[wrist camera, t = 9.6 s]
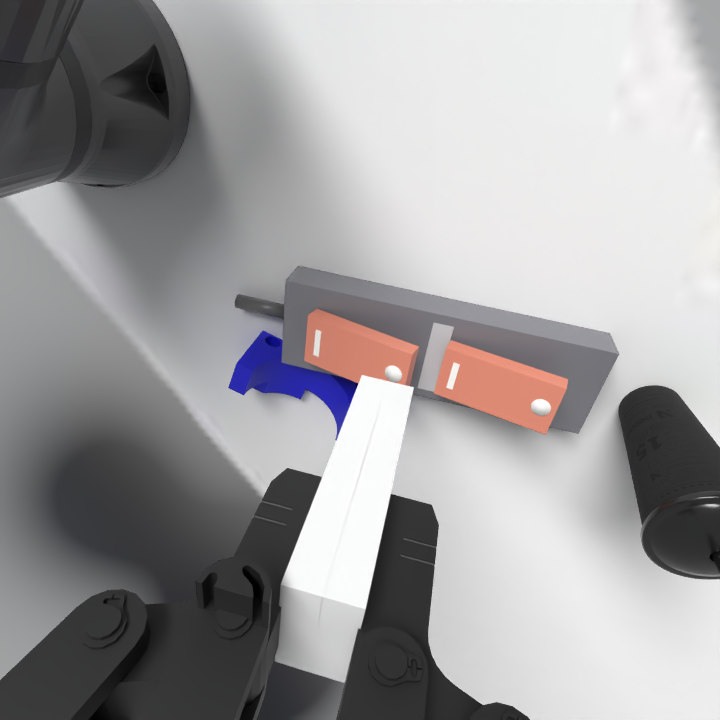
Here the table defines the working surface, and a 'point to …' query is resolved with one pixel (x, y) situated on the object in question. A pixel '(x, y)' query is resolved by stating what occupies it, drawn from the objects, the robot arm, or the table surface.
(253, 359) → the cable clip
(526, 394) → the rocker
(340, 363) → the rocker
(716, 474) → the drinking cup
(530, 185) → the table surface
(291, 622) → the robot arm
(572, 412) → the power strip
